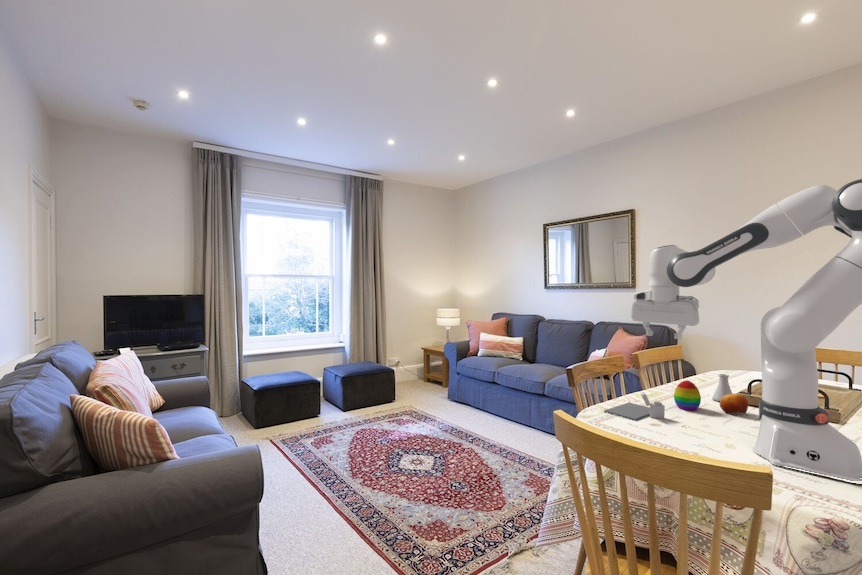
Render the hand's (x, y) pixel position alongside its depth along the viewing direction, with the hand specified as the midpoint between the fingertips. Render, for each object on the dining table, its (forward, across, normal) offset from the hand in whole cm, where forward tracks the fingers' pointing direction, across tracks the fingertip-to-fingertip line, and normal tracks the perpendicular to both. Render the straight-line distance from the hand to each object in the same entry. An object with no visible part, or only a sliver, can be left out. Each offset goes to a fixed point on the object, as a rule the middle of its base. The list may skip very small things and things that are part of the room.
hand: (663, 337), depth 135 cm
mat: (+28, +10, 0) cm, 29 cm away
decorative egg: (+28, +1, -20) cm, 34 cm away
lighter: (+28, +3, 0) cm, 28 cm away
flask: (+28, -3, -41) cm, 49 cm away
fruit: (+28, -11, -27) cm, 40 cm away
